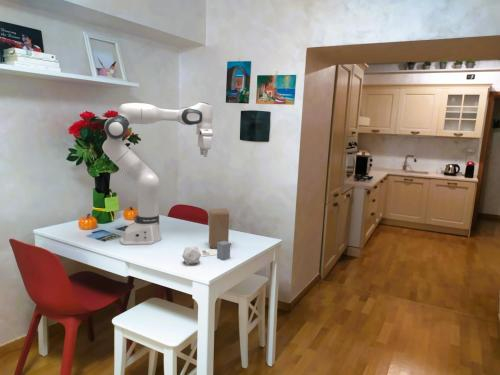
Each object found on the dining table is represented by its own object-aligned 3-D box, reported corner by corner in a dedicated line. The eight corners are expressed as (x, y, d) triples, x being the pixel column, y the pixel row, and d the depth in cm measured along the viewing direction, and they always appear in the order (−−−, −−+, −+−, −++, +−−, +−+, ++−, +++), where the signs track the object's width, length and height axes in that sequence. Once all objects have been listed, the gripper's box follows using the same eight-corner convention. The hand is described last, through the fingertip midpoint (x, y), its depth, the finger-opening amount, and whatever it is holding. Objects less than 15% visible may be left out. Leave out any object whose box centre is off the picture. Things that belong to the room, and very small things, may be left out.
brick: (222, 260, 181) (222, 244, 180) (216, 257, 184) (217, 242, 183) (229, 258, 184) (230, 243, 183) (224, 255, 188) (224, 240, 186)
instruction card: (195, 257, 184) (195, 256, 184) (192, 251, 191) (192, 251, 191) (218, 254, 188) (218, 254, 188) (214, 249, 196) (214, 249, 196)
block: (228, 248, 199) (229, 212, 195) (209, 248, 197) (210, 212, 194) (226, 242, 208) (227, 208, 205) (208, 243, 207) (209, 208, 203)
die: (178, 263, 176) (180, 252, 170) (186, 250, 183) (189, 239, 176) (193, 271, 176) (196, 260, 169) (201, 257, 182) (204, 246, 175)
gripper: (195, 130, 218) (195, 153, 221) (202, 132, 199) (201, 158, 202) (206, 130, 220) (205, 153, 223) (213, 133, 201) (212, 158, 204)
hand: (203, 155), depth 212 cm, fingers open, 8 cm apart
